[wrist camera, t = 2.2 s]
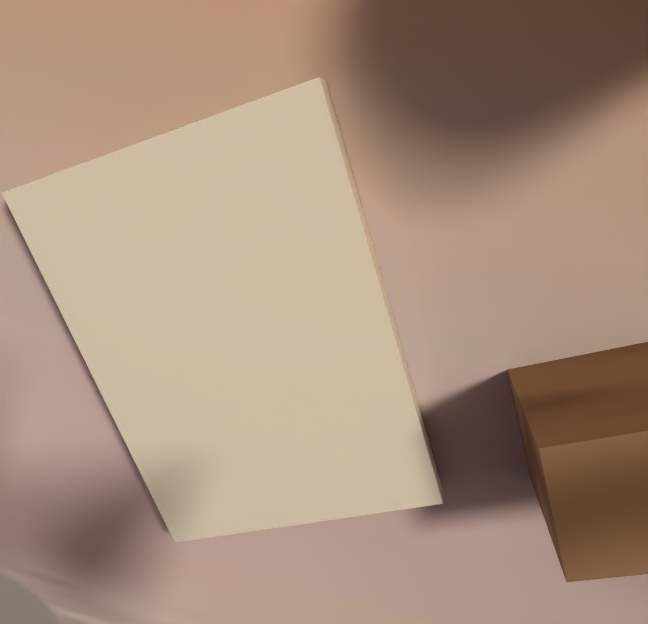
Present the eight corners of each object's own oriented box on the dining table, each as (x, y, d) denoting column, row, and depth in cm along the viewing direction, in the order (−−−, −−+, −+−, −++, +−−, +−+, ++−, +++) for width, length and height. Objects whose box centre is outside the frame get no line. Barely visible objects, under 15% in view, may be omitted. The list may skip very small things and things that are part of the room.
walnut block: (668, 457, 19) (749, 563, 15) (530, 478, 21) (566, 582, 16) (653, 339, 18) (739, 416, 13) (506, 368, 19) (538, 448, 15)
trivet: (441, 483, 21) (442, 503, 20) (185, 522, 24) (174, 542, 23) (324, 79, 17) (319, 76, 15) (24, 188, 19) (1, 192, 18)
